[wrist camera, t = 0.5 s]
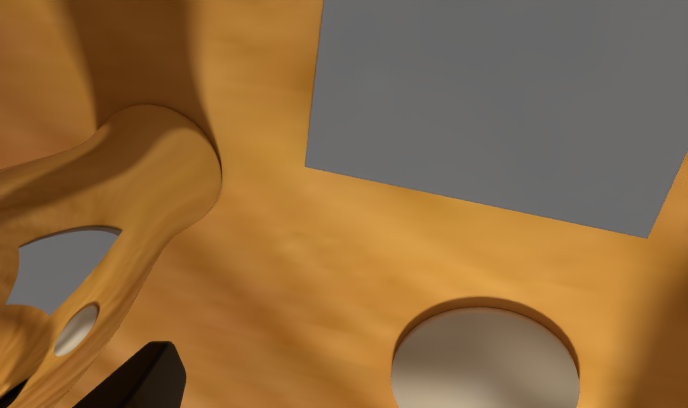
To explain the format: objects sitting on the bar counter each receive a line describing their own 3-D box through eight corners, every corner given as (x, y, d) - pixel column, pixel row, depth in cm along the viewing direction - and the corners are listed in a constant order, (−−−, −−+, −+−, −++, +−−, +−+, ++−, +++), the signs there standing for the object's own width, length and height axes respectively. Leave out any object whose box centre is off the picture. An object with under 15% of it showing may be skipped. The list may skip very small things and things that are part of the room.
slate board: (640, 226, 23) (647, 238, 22) (310, 157, 25) (304, 166, 24) (821, -181, 17) (841, -187, 16) (358, -240, 18) (352, -249, 17)
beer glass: (100, 69, 25) (-320, 236, 11) (247, 128, 25) (-6, 365, 11) (84, 200, 28) (-257, 446, 15) (213, 252, 28) (-13, 548, 15)
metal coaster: (545, 463, 30) (546, 471, 29) (378, 421, 31) (377, 428, 30) (605, 332, 26) (607, 340, 25) (410, 288, 27) (409, 294, 26)
